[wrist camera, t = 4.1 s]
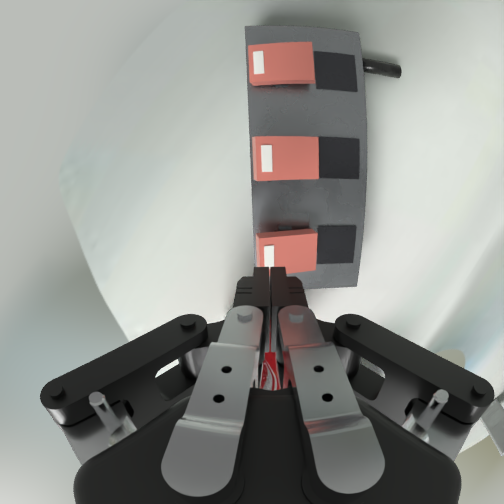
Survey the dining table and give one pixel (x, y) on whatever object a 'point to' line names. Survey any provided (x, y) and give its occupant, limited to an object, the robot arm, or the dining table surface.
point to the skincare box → (495, 424)
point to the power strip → (330, 149)
